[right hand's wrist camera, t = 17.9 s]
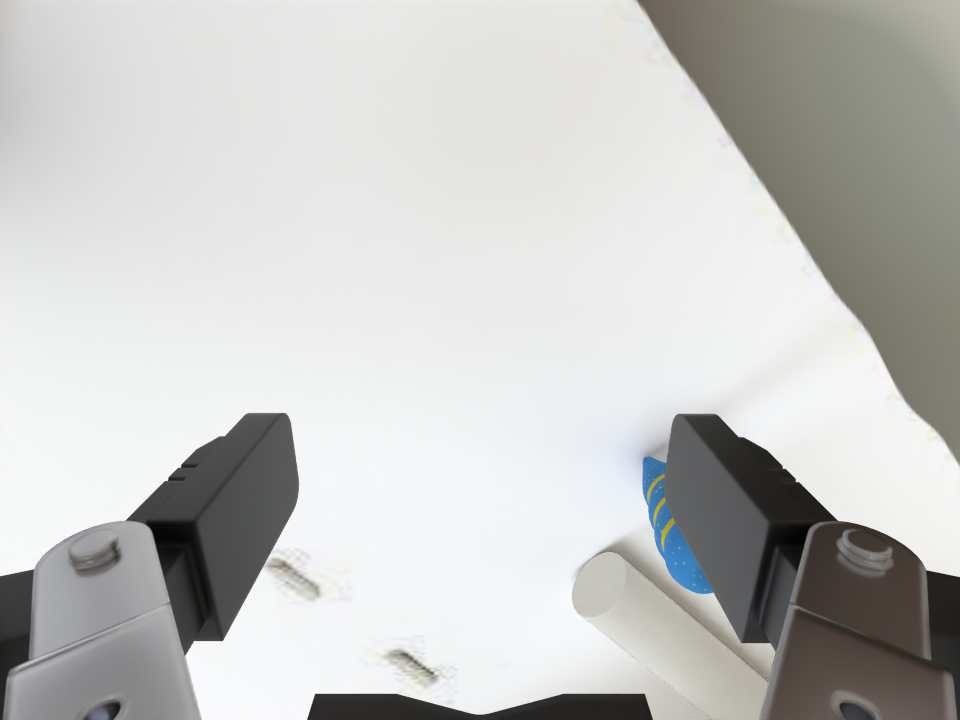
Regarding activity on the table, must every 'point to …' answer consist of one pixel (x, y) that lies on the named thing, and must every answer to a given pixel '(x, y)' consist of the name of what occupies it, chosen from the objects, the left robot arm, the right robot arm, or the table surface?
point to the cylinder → (666, 639)
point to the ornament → (670, 531)
